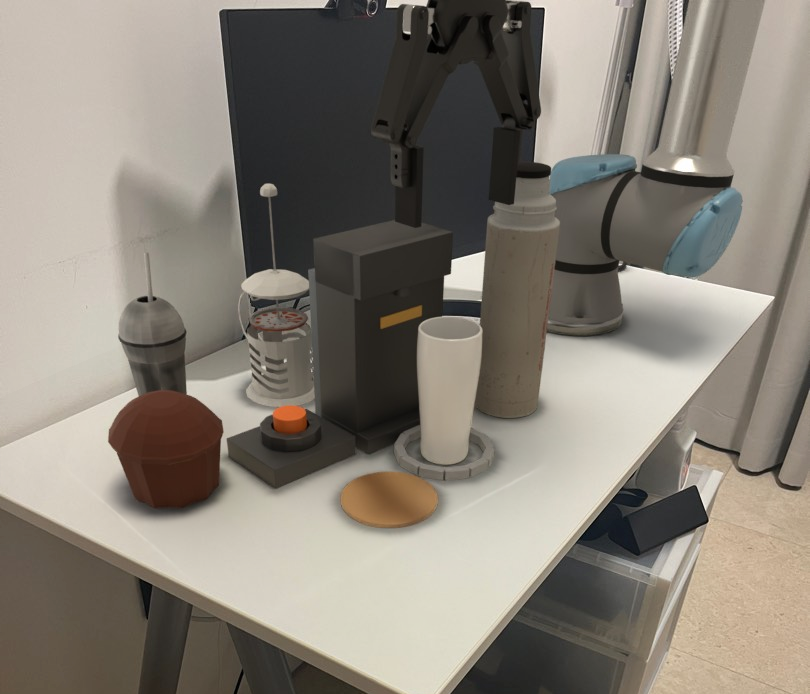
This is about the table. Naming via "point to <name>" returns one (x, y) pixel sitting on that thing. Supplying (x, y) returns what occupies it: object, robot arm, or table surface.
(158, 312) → the beverage cup
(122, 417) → the muffin
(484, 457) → the coffee maker
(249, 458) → the power switch
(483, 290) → the thermos bottle
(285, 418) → the power button
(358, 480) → the disc
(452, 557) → the table surface
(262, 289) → the french press
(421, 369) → the drinking glass
